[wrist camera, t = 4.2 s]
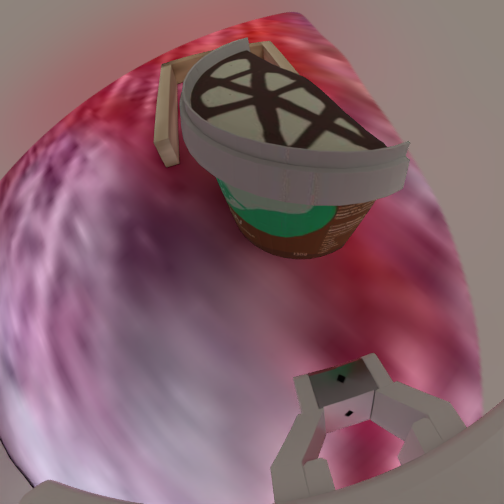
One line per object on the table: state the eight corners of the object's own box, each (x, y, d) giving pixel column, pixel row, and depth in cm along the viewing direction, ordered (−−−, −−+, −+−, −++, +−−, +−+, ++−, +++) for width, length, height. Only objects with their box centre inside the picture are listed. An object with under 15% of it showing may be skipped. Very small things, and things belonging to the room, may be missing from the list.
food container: (189, 179, 20) (143, 71, 11) (257, 146, 21) (242, 35, 12) (272, 318, 15) (261, 241, 6) (356, 265, 16) (421, 152, 7)
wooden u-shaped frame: (166, 167, 21) (153, 142, 18) (168, 82, 28) (161, 64, 25) (320, 133, 21) (323, 106, 18) (271, 60, 28) (270, 40, 25)
